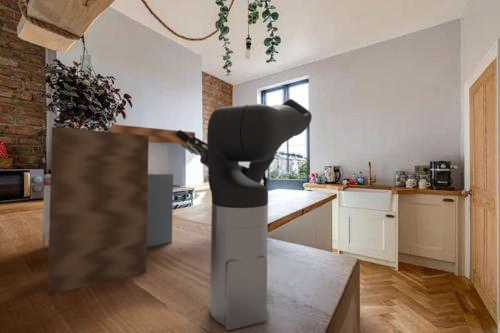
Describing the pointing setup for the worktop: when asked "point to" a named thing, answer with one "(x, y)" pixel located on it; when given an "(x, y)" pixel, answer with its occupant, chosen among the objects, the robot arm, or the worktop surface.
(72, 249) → the walnut pedestal
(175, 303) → the worktop surface
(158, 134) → the brown bar
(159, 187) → the slate pedestal
